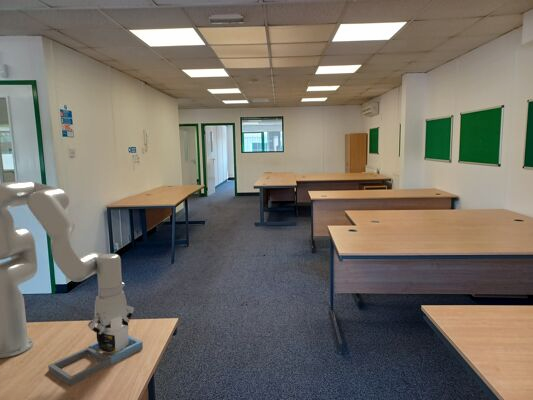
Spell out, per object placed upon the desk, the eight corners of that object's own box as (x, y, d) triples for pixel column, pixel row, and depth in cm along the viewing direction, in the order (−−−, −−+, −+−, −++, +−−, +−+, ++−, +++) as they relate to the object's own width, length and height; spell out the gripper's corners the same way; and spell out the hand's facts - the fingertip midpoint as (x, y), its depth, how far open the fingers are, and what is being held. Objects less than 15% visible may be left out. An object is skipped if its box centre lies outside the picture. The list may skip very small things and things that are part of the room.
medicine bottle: (98, 351, 125) (96, 318, 124) (112, 341, 132) (110, 309, 131) (115, 354, 123) (113, 320, 122) (129, 344, 130) (127, 312, 129)
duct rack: (48, 371, 116) (48, 363, 116) (120, 337, 137) (120, 331, 137) (70, 385, 109) (69, 377, 108) (142, 348, 129) (142, 341, 129)
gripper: (126, 280, 134) (128, 325, 136) (79, 295, 120) (83, 345, 122) (138, 284, 130) (141, 330, 132) (92, 300, 116) (95, 352, 118)
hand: (113, 337), depth 127 cm, fingers closed on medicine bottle, 8 cm apart
